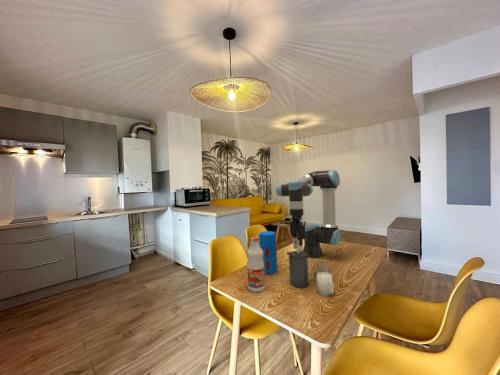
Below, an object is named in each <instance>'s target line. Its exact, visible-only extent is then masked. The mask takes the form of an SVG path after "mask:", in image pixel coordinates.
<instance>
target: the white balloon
mask: <svg viewBox="0 0 500 375" xmlns="http://www.w3.org/2000/svg"><path fill="white" fill-rule="evenodd" d="M332 276H333V274H330V273H328V272H318V273H317V282H316V292H317V294H319V295H321V296H324V297H329V296H332V295H333V294H334V293H335V292H334V290H335V289H334V286H335V285H334V282H333V281H332Z"/></svg>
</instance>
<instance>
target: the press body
mask: <svg viewBox="0 0 500 375" xmlns="http://www.w3.org/2000/svg"><path fill="white" fill-rule="evenodd" d="M286 255H288V265H289V284H290V286H292V287H294V288H298V289H304V288H307V287H309V285H310V284H309V283H310V282H309V263H308V262H309V259H308V258H309V257H310V255H309V254H307V253H305V252H303V251H299V254H298V255H297V250H293V251H287V253H286Z"/></svg>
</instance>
